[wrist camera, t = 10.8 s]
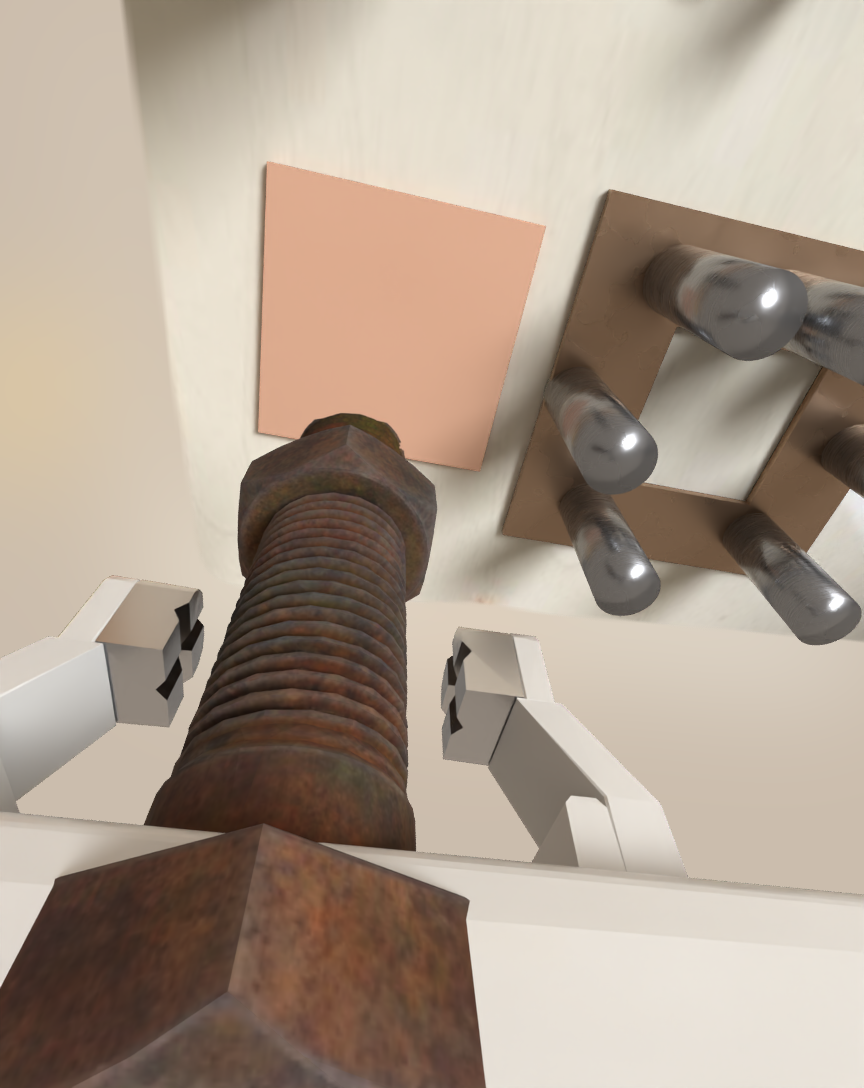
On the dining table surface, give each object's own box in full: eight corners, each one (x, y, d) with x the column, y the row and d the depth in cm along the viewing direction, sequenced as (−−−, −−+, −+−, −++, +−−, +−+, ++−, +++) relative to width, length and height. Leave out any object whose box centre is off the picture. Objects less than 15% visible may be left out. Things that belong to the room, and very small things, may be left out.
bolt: (418, 540, 19) (450, 1231, 7) (267, 522, 18) (-12, 1251, 6) (450, 371, 16) (624, 1077, 4) (270, 342, 15) (-303, 1082, 3)
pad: (544, 225, 27) (546, 226, 27) (479, 468, 34) (479, 471, 34) (269, 161, 25) (266, 161, 25) (259, 429, 32) (258, 432, 32)
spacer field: (983, 281, 28) (1184, 318, 21) (784, 577, 39) (871, 674, 31) (607, 188, 26) (681, 194, 19) (500, 530, 36) (520, 623, 29)
